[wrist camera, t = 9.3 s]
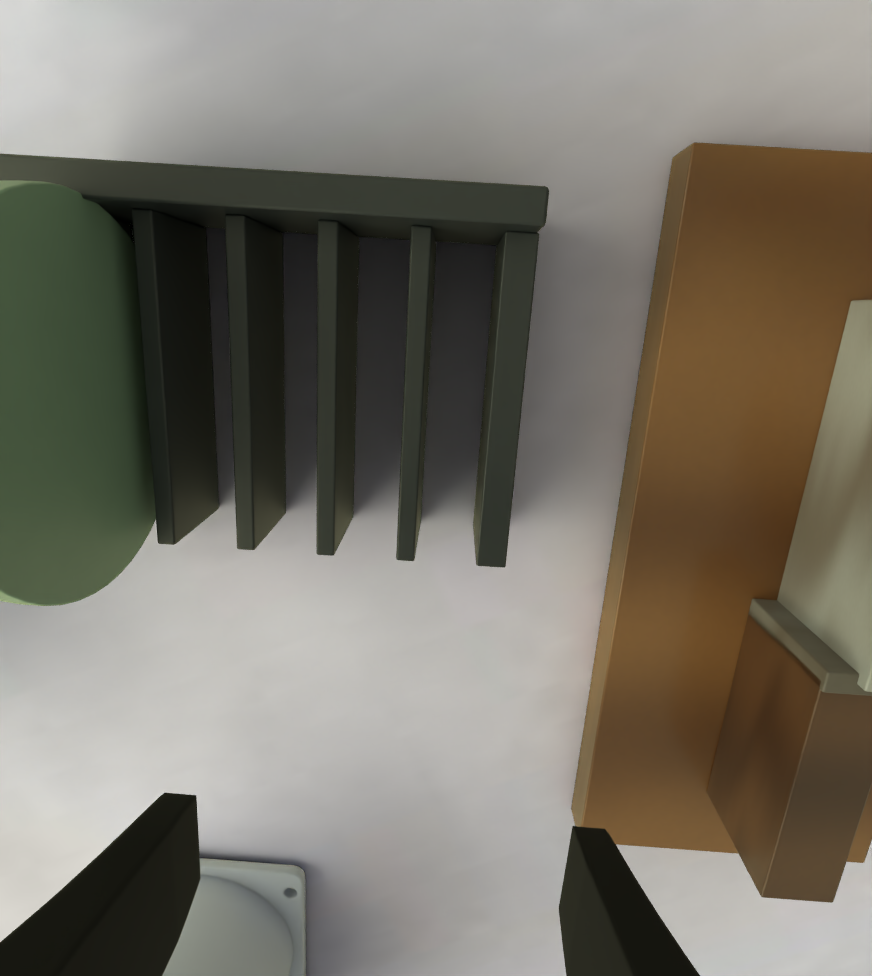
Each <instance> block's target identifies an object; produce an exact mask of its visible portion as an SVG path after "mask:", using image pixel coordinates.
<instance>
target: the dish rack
mask: <svg viewBox="0 0 872 976" xmlns="http://www.w3.org/2000/svg"><path fill="white" fill-rule="evenodd" d="M548 197H549V189H548V187H546V186H531V185H514V184H498V183H481V182H464V181H448V180H431V179H414V178H398V177H381V176H364V175H348V174H331V173H314V172H298V171H281V170H264V169H248V168H231V167H214V166H198V165H181V164H164V163H148V162H131V161H114V160H98V159H81V158H64V157H48V156H31V155H14V154H0V601H3V602H9V603H15V604H23V605H37V606H54V605H64V604H68V603H72V602H76V601H79V600H81V599H84V598H86V597H88V596H90V595H92V594H94V593H96V592H97V591H99V590H100V589H102V588H103V587H105V586H106V585H108V584H109V583H110V582H111V581H112V580H114V579H115V578H116V577H117V576H118V575H119V574H120V573H121V572H122V571H123V570H124V569H125V568H126V566H127V565H128V564H129V563H130V562H131V561H132V559H133V558H134V556H135V555H136V554H137V552H138V551H139V549H140V548H141V546H142V545H143V543H144V541H145V539H146V538H147V536H148V534H149V532H150V531H151V528H152V526H153V524H154V522H155V520H156V524H157V536H158V543H159V544H172V545H174V544H176V543H177V542H179V541H180V540H181V539H182V538H183V537H185V536H186V535H187V534H188V533H189V532H191V531H192V530H193V529H194V528H196V527H197V526H198V525H199V524H200V523H202V522H203V521H204V520H205V519H206V518H208V517H209V516H210V515H211V514H213V513H214V512H215V511H216V510H217V509H218V508H219V503H218V482H217V460H216V438H215V417H214V395H213V373H212V352H211V330H210V308H209V287H208V265H207V243H206V229H205V228H204V227H210V228H225V236H226V262H227V289H228V316H229V342H230V369H231V396H232V422H233V449H234V475H235V502H236V529H237V548H238V549H245V550H255V548H256V547H257V546H258V545H259V544H260V543H261V541H262V540H263V539H264V538H265V537H266V536H267V534H268V533H269V532H270V531H271V530H272V528H273V527H274V526H275V525H276V524H277V523H278V521H279V520H280V519H281V518H282V517H283V516H284V514H285V513H286V483H285V401H284V319H283V237H282V233H281V232H291V233H308V234H318V289H317V554H318V555H334V554H335V552H336V550H337V548H338V546H339V544H340V542H341V540H342V538H343V536H344V534H345V532H346V530H347V528H348V526H349V524H350V522H351V520H352V518H353V505H354V459H355V413H356V368H357V322H358V277H359V237H373V238H389V239H405V240H411V241H410V263H409V286H408V308H407V330H406V353H405V375H404V397H403V420H402V442H401V464H400V487H399V509H398V531H397V554H396V558H397V560H405V561H414V559H415V553H416V547H417V541H418V535H419V529H420V523H421V509H422V491H423V474H424V456H425V438H426V421H427V403H428V385H429V367H430V350H431V332H432V314H433V296H434V279H435V261H436V241H438V242H454V243H471V244H487V245H497V247H496V256H495V268H494V280H493V292H492V304H491V316H490V329H489V341H488V353H487V365H486V377H485V389H484V401H483V413H482V425H481V437H480V449H479V461H478V473H477V485H476V497H475V509H474V521H473V529H474V542H475V554H476V564H477V565H478V566H490V567H505V566H506V556H507V546H508V536H509V526H510V517H511V507H512V497H513V487H514V477H515V467H516V458H517V448H518V438H519V428H520V418H521V408H522V399H523V389H524V379H525V369H526V359H527V350H528V340H529V330H530V320H531V310H532V300H533V291H534V281H535V271H536V261H537V251H538V241H539V233H537V232H538V231H539V230H540V229H541V228H542V227H544V225H545V223H546V216H547V206H548ZM127 222H129V223H133V230H134V242H135V244H134V243H133V241H132V240H131V235H130V225H129V223H127Z"/></svg>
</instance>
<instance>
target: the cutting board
mask: <svg viewBox="0 0 872 976" xmlns="http://www.w3.org/2000/svg"><path fill="white" fill-rule="evenodd" d="M853 300H872V153H866V152H849V151H832V150H815V149H798V148H781V147H764V146H747V145H730V144H713V143H696V142H695V143H692V144H691V145H690V146H688V147H687V148H685V149H684V150H683V151H681V152H680V153H678V154H677V155H676V156H674V157H673V159H672V165H671V172H670V178H669V184H668V191H667V197H666V204H665V210H664V217H663V223H662V229H661V236H660V242H659V249H658V255H657V261H656V268H655V274H654V281H653V287H652V294H651V300H650V306H649V313H648V319H647V326H646V332H645V339H644V345H643V351H642V358H641V364H640V371H639V377H638V383H637V390H636V396H635V403H634V409H633V416H632V422H631V428H630V435H629V441H628V448H627V454H626V461H625V467H624V473H623V480H622V486H621V493H620V499H619V505H618V512H617V518H616V525H615V531H614V538H613V544H612V550H611V557H610V563H609V570H608V576H607V583H606V589H605V595H604V602H603V608H602V615H601V621H600V627H599V634H598V640H597V647H596V653H595V660H594V666H593V672H592V679H591V685H590V692H589V698H588V704H587V711H586V717H585V724H584V730H583V737H582V743H581V749H580V756H579V762H578V769H577V775H576V782H575V788H574V794H573V801H572V807H571V809H572V813H573V818H574V822H575V826H577V827H589V828H602V829H606V831H607V832H608V833H609V834H610V836H611V837H612V839H613V841H614V843H615V844H619V845H632V846H645V847H659V848H672V849H685V850H699V851H712V852H725V853H738V851H737V849H736V847H735V846H734V844H733V842H732V840H731V838H730V836H729V834H728V832H727V830H726V828H725V826H724V825H723V823H722V821H721V819H720V817H719V815H718V813H717V811H716V809H715V807H714V805H713V803H712V802H711V800H710V798H709V796H708V794H707V789H708V784H709V780H710V776H711V771H712V767H713V763H714V759H715V754H716V750H717V746H718V742H719V737H720V733H721V729H722V724H723V720H724V716H725V712H726V707H727V703H728V699H729V695H730V690H731V686H732V682H733V677H734V673H735V669H736V665H737V660H738V656H739V652H740V648H741V643H742V639H743V635H744V630H745V626H746V622H747V618H748V613H749V609H750V605H751V601H752V599H766V600H777V598H778V594H779V590H780V586H781V582H782V578H783V574H784V570H785V566H786V562H787V558H788V554H789V549H790V545H791V541H792V537H793V533H794V529H795V525H796V521H797V517H798V513H799V509H800V505H801V501H802V497H803V493H804V489H805V485H806V481H807V477H808V473H809V469H810V465H811V461H812V457H813V453H814V448H815V444H816V440H817V436H818V432H819V428H820V424H821V420H822V416H823V412H824V408H825V404H826V400H827V396H828V392H829V388H830V384H831V380H832V376H833V372H834V368H835V364H836V360H837V356H838V352H839V348H840V343H841V339H842V335H843V331H844V327H845V323H846V319H847V315H848V311H849V307H850V303H851V301H853ZM871 840H872V785H871V788H870V791H869V794H868V797H867V801H866V804H865V807H864V810H863V813H862V816H861V819H860V822H859V825H858V828H857V831H856V834H855V837H854V840H853V843H852V846H851V849H850V852H849V855H848V858H847V861H846V862H859V863H863V862H864V861H865V858H866V855H867V852H868V849H869V846H870V843H871Z"/></svg>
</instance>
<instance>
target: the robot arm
mask: <svg viewBox="0 0 872 976" xmlns="http://www.w3.org/2000/svg"><path fill="white" fill-rule="evenodd" d="M292 888H293V889H292ZM559 915H560V924H561V933H562V942H563V951H564V959H565V967H566V974H567V976H700V975H699V974H698V972H697V971H696V969H695V968H694V966H693V965H692V964H691V962H690V961H689V959H688V958H687V956H686V955H685V954H684V952H683V951H682V949H681V948H680V946H679V945H678V943H677V942H676V940H675V939H674V937H673V936H672V934H671V933H670V931H669V930H668V928H667V927H666V925H665V924H664V922H663V921H662V919H661V918H660V916H659V915H658V913H657V912H656V910H655V908H654V907H653V905H652V904H651V902H650V901H649V899H648V897H647V896H646V894H645V893H644V891H643V889H642V888H641V886H640V885H639V883H638V881H637V880H636V878H635V876H634V875H633V873H632V872H631V870H630V868H629V867H628V865H627V863H626V861H625V860H624V858H623V856H622V855H621V853H620V851H619V850H618V848H617V846H616V844H615V843H614V841H613V839H612V837H611V836H610V834H609V833H608V832H607V831H606V829H602V828H589V827H577V826H573V828H572V834H571V839H570V845H569V851H568V857H567V863H566V869H565V875H564V881H563V887H562V892H561V898H560V904H559ZM0 976H306V922H305V873H304V871H303V870H302V869H301V868H300V867H298V866H295V865H285V864H272V863H258V862H245V861H232V860H219V859H206V858H200V857H199V839H198V820H197V801H196V795H185V794H173V793H164V794H163V795H161V796H160V797H159V798H158V799H157V800H156V801H155V802H154V803H153V804H152V805H151V806H150V807H148V808H147V809H146V810H145V811H144V812H143V813H142V814H141V815H140V816H139V817H138V818H137V819H136V820H135V821H134V822H133V823H132V824H131V825H130V826H129V827H128V828H127V829H126V830H125V831H124V832H123V833H122V834H121V835H120V836H119V837H117V838H116V839H115V840H114V841H113V842H112V843H111V844H110V845H109V846H108V847H107V848H106V849H105V850H104V851H103V852H102V853H101V854H100V855H99V856H97V857H96V858H95V859H94V860H93V861H92V862H91V863H90V864H89V865H88V866H87V867H86V868H84V869H83V870H82V871H81V872H80V873H79V874H78V875H77V876H76V877H75V878H74V879H72V880H71V881H70V882H69V883H68V884H67V885H66V886H65V887H64V888H63V889H62V890H60V891H59V892H58V893H57V894H56V895H55V896H54V897H53V898H51V899H50V900H49V901H48V902H47V903H46V904H45V905H43V906H42V907H41V908H40V909H39V910H38V911H36V912H35V913H34V914H33V915H32V916H31V917H29V918H28V919H27V920H26V921H25V922H24V923H22V924H21V925H20V926H19V927H18V928H17V929H15V930H14V931H13V932H12V933H11V934H9V935H8V936H7V937H6V938H5V939H4V940H2V941H1V942H0Z"/></svg>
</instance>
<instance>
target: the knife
mask: <svg viewBox="0 0 872 976" xmlns="http://www.w3.org/2000/svg"><path fill="white" fill-rule="evenodd" d="M871 785H872V300H853V301H851V303H850V307H849V311H848V315H847V319H846V323H845V327H844V331H843V335H842V339H841V343H840V348H839V352H838V356H837V360H836V364H835V368H834V372H833V376H832V380H831V384H830V388H829V392H828V396H827V400H826V404H825V408H824V412H823V416H822V420H821V424H820V428H819V432H818V436H817V440H816V444H815V448H814V453H813V457H812V461H811V465H810V469H809V473H808V477H807V481H806V485H805V489H804V493H803V497H802V501H801V505H800V509H799V513H798V517H797V521H796V525H795V529H794V533H793V537H792V541H791V545H790V549H789V554H788V558H787V562H786V566H785V570H784V574H783V578H782V582H781V586H780V590H779V594H778V598H777V600H766V599H752V601H751V605H750V609H749V613H748V618H747V622H746V626H745V630H744V635H743V639H742V643H741V648H740V652H739V656H738V660H737V665H736V669H735V673H734V677H733V682H732V686H731V690H730V695H729V699H728V703H727V707H726V712H725V716H724V720H723V724H722V729H721V733H720V737H719V742H718V746H717V750H716V754H715V759H714V763H713V767H712V771H711V776H710V780H709V784H708V789H707V794H708V796H709V798H710V800H711V802H712V803H713V805H714V807H715V809H716V811H717V813H718V815H719V817H720V819H721V821H722V823H723V825H724V826H725V828H726V830H727V832H728V834H729V836H730V838H731V840H732V842H733V844H734V846H735V847H736V849H737V851H738V853H739V855H740V857H741V859H742V861H743V863H744V865H745V867H746V868H747V870H748V872H749V874H750V876H751V878H752V880H753V882H754V884H755V886H756V888H757V889H758V891H759V893H760V895H761V897H766V898H779V899H792V900H805V901H818V902H833V900H834V897H835V894H836V891H837V888H838V885H839V882H840V879H841V876H842V873H843V870H844V867H845V864H846V861H847V858H848V855H849V852H850V849H851V846H852V843H853V840H854V837H855V834H856V831H857V828H858V825H859V822H860V819H861V816H862V813H863V810H864V807H865V804H866V801H867V797H868V794H869V791H870V788H871Z"/></svg>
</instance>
